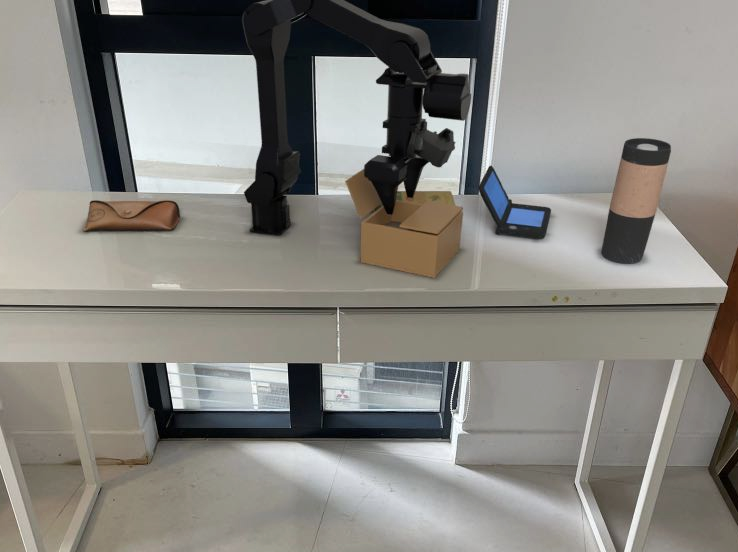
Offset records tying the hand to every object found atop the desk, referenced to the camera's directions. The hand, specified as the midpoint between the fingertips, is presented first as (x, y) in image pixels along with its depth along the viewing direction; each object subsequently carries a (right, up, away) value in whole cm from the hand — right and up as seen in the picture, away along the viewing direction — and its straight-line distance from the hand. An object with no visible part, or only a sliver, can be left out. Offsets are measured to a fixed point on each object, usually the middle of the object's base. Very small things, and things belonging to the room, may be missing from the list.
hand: (400, 205), depth 127 cm
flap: (-5, +3, 0) cm, 6 cm away
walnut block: (-1, -7, +4) cm, 8 cm away
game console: (+24, 0, +16) cm, 29 cm away
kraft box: (+2, -8, +3) cm, 9 cm away
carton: (+4, +2, +19) cm, 20 cm away
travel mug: (+40, -8, +3) cm, 42 cm away
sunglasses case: (-52, 0, +16) cm, 54 cm away
